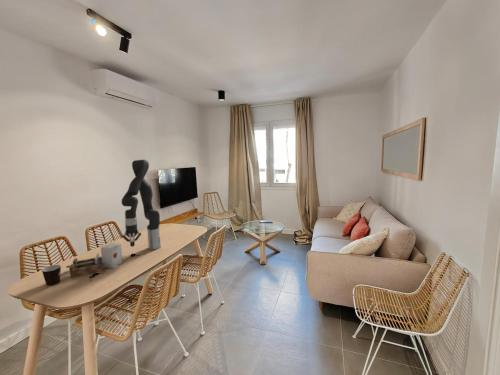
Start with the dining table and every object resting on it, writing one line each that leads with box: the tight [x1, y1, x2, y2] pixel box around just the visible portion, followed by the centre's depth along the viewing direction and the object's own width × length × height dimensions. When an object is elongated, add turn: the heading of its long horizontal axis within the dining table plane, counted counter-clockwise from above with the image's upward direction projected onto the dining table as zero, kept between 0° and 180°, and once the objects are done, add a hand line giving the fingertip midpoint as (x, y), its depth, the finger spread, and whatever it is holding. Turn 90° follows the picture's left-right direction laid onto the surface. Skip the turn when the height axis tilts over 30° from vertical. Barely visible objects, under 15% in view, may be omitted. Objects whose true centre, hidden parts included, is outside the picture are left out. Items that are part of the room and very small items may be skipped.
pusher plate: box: [65, 253, 101, 269], centre depth 149 cm, size 18×11×8 cm, turn 118°
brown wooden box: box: [68, 256, 106, 279], centre depth 151 cm, size 18×15×7 cm
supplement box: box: [100, 242, 123, 269], centre depth 157 cm, size 9×9×15 cm
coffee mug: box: [41, 264, 62, 287], centre depth 133 cm, size 12×9×10 cm
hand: (132, 246), depth 162 cm, fingers closed
